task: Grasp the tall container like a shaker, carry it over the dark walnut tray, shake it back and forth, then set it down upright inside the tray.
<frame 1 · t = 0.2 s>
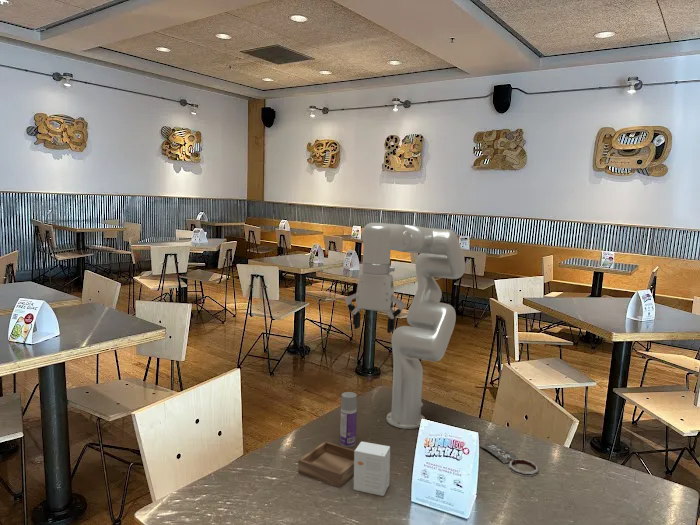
hand: (373, 329, 146), 36 cm above the table, tool pointing down, fingers open, 9 cm apart
tray: (332, 469, 139), on the table
small box: (371, 488, 131), on the table
keychain: (508, 461, 147), on the table
container: (347, 443, 154), on the table
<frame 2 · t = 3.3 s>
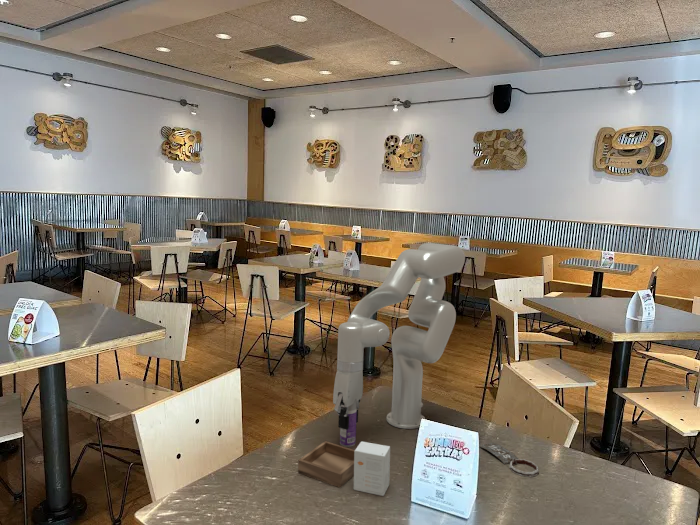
hand: (348, 424, 153), 6 cm above the table, tool pointing down, fingers closed on container, 4 cm apart
container: (347, 443, 154), on the table, touching gripper
everything else where it was.
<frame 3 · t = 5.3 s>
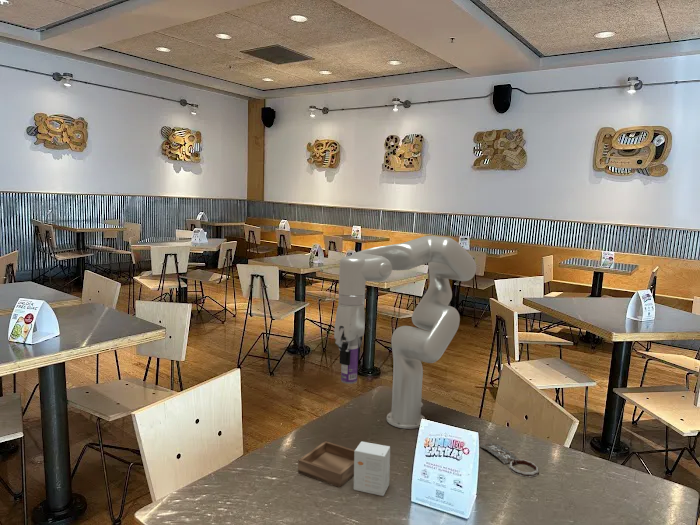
hand: (349, 361, 150), 25 cm above the table, tool pointing down, fingers closed on container, 4 cm apart
container: (349, 381, 151), point 19 cm above the table, touching gripper
everything else where it was.
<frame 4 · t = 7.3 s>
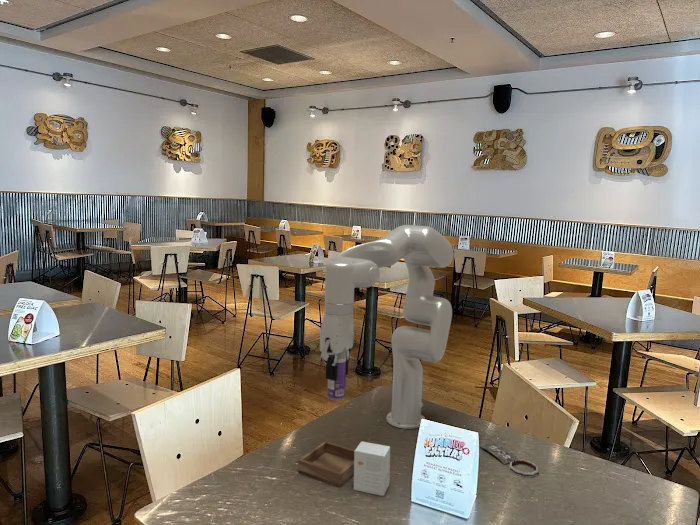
hand: (336, 375, 137), 26 cm above the table, tool pointing down, fingers closed on container, 4 cm apart
container: (336, 397, 138), point 19 cm above the table, touching gripper
everything else where it was.
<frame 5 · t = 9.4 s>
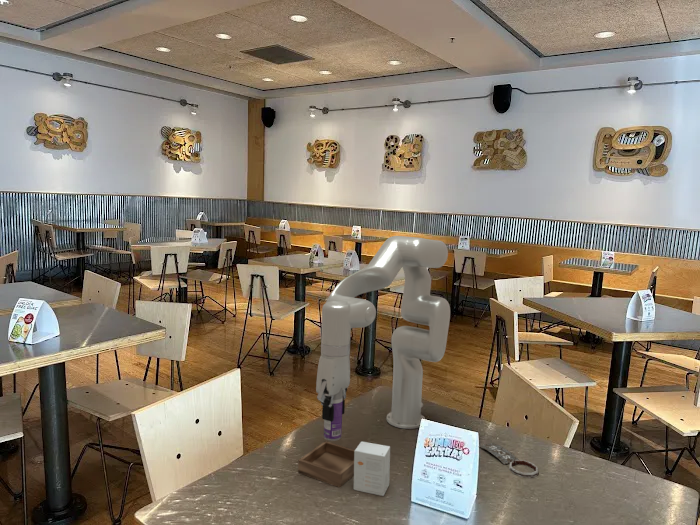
hand: (333, 415, 137), 15 cm above the table, tool pointing down, fingers closed on container, 4 cm apart
container: (332, 437, 138), point 9 cm above the table, touching gripper
everything else where it was.
when the fingers open (8 cm above the table, at t = 11.2 s): container drops 1 cm, resting on tray.
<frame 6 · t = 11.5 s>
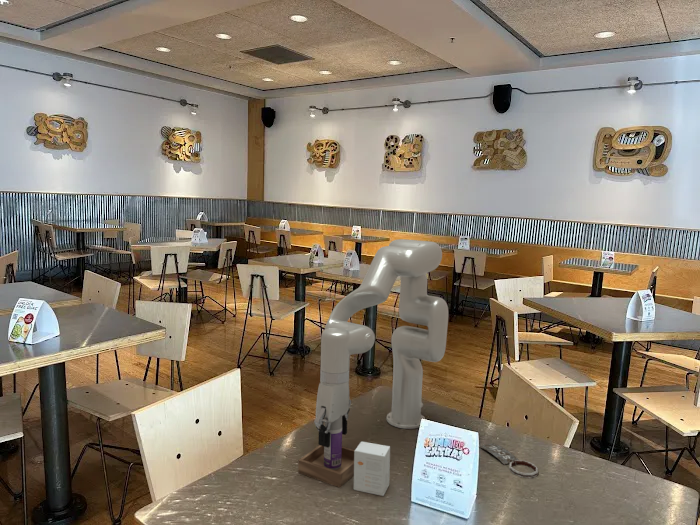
hand: (332, 439, 138), 8 cm above the table, tool pointing down, fingers open, 8 cm apart
container: (332, 466, 139), point 1 cm above the table, touching tray
everything else where it was.
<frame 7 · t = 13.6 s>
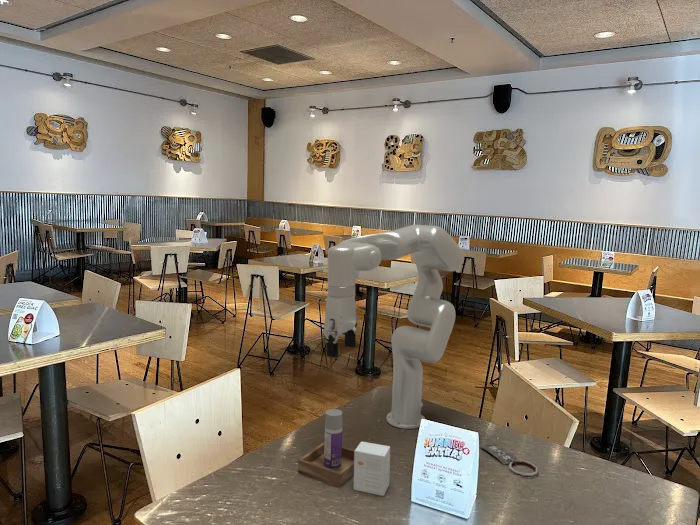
hand: (341, 351, 144), 30 cm above the table, tool pointing down, fingers open, 9 cm apart
nothing on the table moved.
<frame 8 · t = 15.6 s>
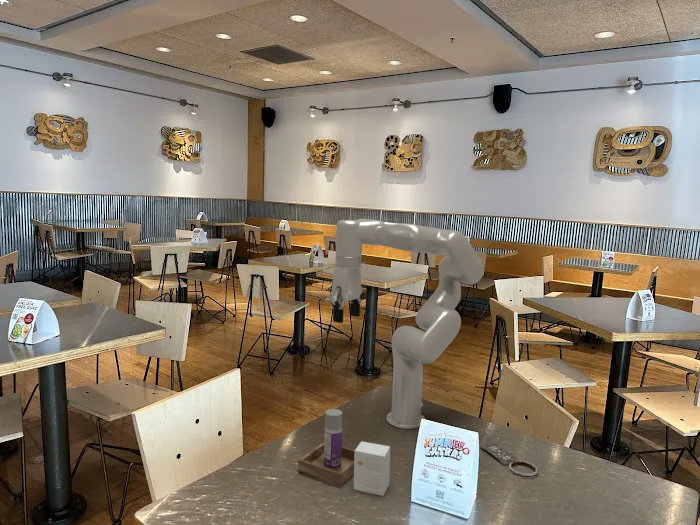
hand: (346, 319, 155), 36 cm above the table, tool pointing down, fingers open, 9 cm apart
nothing on the table moved.
at the end: container inside the target area on the tray (0.3 cm from its centre), point 0.6 cm above the tray's base; container tilted 0°; the gripper is holding nothing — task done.
